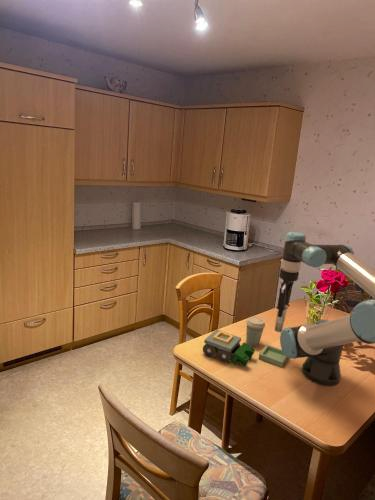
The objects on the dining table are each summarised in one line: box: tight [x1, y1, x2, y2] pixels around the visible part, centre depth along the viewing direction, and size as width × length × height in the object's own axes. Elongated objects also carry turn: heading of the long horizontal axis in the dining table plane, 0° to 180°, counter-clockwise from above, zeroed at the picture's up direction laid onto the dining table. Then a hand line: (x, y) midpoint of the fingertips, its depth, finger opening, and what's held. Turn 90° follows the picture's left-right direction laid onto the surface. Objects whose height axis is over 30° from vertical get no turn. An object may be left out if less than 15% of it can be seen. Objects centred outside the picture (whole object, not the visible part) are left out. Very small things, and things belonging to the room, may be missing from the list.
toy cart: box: [202, 329, 242, 364], centre depth 161 cm, size 13×12×9 cm
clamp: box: [229, 341, 256, 367], centre depth 158 cm, size 12×6×9 cm, turn 144°
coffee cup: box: [245, 316, 266, 348], centre depth 172 cm, size 8×8×12 cm
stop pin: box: [274, 304, 289, 333], centre depth 158 cm, size 4×4×12 cm
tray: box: [258, 344, 289, 368], centre depth 163 cm, size 10×10×2 cm
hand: (280, 321), depth 159 cm, fingers closed on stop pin, 3 cm apart
